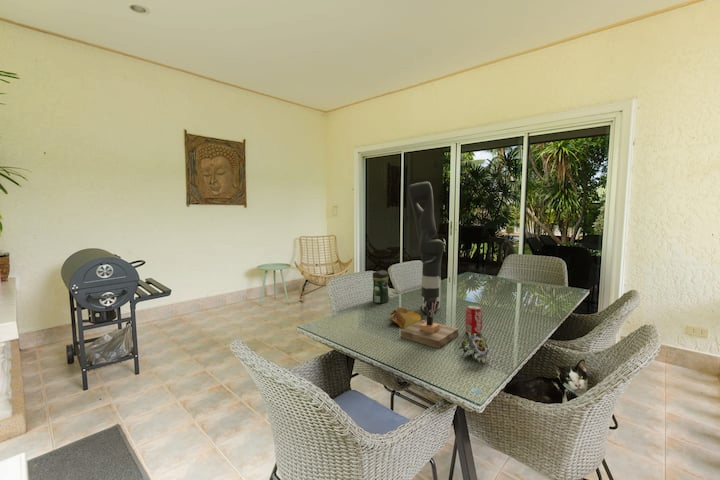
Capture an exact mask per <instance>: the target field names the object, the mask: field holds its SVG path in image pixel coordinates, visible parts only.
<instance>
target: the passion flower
mask: <svg viewBox="0 0 720 480" xmlns="http://www.w3.org/2000/svg"><path fill="white" fill-rule="evenodd" d="M467 334H468V338H469V339H468V340H467V339H466V338H465V337H462V342H461V345H460V347H459V349H458V350H462V349H463V350H462V356H465V354H466V353H468V351H473V353H472V355H471V358H472V359H473V360H475V361H476V362H477V363H479V364H480V362H481V364H485V362H486V359H485V358H488V357H489V353H488V352H489V347H488V346H489V345H488V343H487V341H486V340H487V339H486V338H482V337H480V336H477V335H476V334H474V335H471V334H470V333H469V332H468V333H467Z"/></svg>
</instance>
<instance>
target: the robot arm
mask: <svg viewBox="0 0 720 480" xmlns="http://www.w3.org/2000/svg"><path fill="white" fill-rule="evenodd" d="M433 193H434V192H433V187H432V184H431V183H430V182H429V181H422V182H416V183H412V184H409V186H408V196H409V201H410V204H411V208H412V211H413V216H414V222H415V223H414V224H415V229H416V235H417V238H418V243H419V245H418V253H419V254H420V259H421V262H422V277H421V297H423V299H422V305H420V306H419V307H420V311H421V312H422V313H421V314H423V316H424V317H426V321H427V325H432V324H433V323H434V315H436V314H437V311H438V310H439V309H440V308H441V278H442V277H441V273H442V260H443V259H442V258H443V254H444V252H445V251H444V250H445V244H444V242H443V241H442V240H441V239H435V237H437V232H438V231H437V227H436V220H435V211H434V210H435V204H434V194H433ZM425 202H426V204H425V207H424V209H423V207H421V206H420V204H419V203H425ZM433 238H434V239H433Z"/></svg>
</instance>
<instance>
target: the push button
mask: <svg viewBox="0 0 720 480" xmlns="http://www.w3.org/2000/svg"><path fill="white" fill-rule="evenodd" d="M436 323H437V322H433V324H432V325H427V322H425V323H423V324H421V325H420V330H422V331H425V332H429V333H435V332H437V331H438V330H439V326H440V323H437V324H436Z"/></svg>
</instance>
